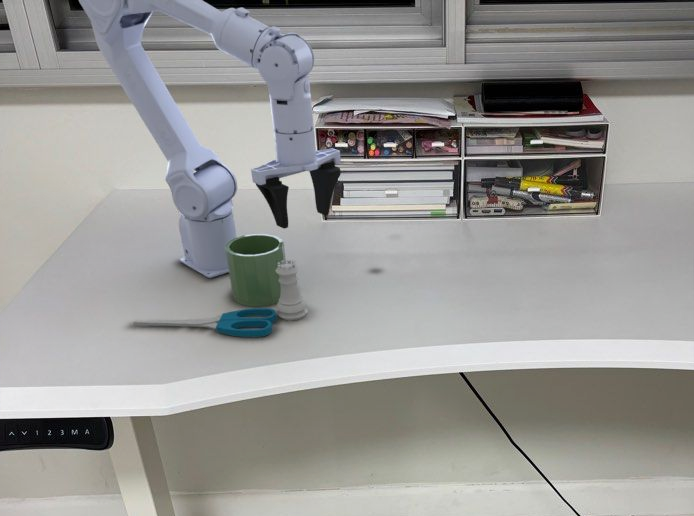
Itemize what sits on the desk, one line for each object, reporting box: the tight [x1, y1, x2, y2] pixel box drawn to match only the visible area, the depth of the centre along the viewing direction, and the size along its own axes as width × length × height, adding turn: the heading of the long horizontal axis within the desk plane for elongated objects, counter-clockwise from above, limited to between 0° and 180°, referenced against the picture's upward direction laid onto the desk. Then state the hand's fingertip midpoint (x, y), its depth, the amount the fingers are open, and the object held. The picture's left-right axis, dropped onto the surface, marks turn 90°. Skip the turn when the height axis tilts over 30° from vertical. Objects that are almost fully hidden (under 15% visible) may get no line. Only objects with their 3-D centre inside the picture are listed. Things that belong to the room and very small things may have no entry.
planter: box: [225, 233, 287, 307], centre depth 119 cm, size 8×8×8 cm
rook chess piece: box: [276, 259, 309, 322], centre depth 113 cm, size 4×4×8 cm
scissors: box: [133, 307, 278, 338], centre depth 112 cm, size 7×1×20 cm
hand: (303, 219), depth 121 cm, fingers open, 7 cm apart
